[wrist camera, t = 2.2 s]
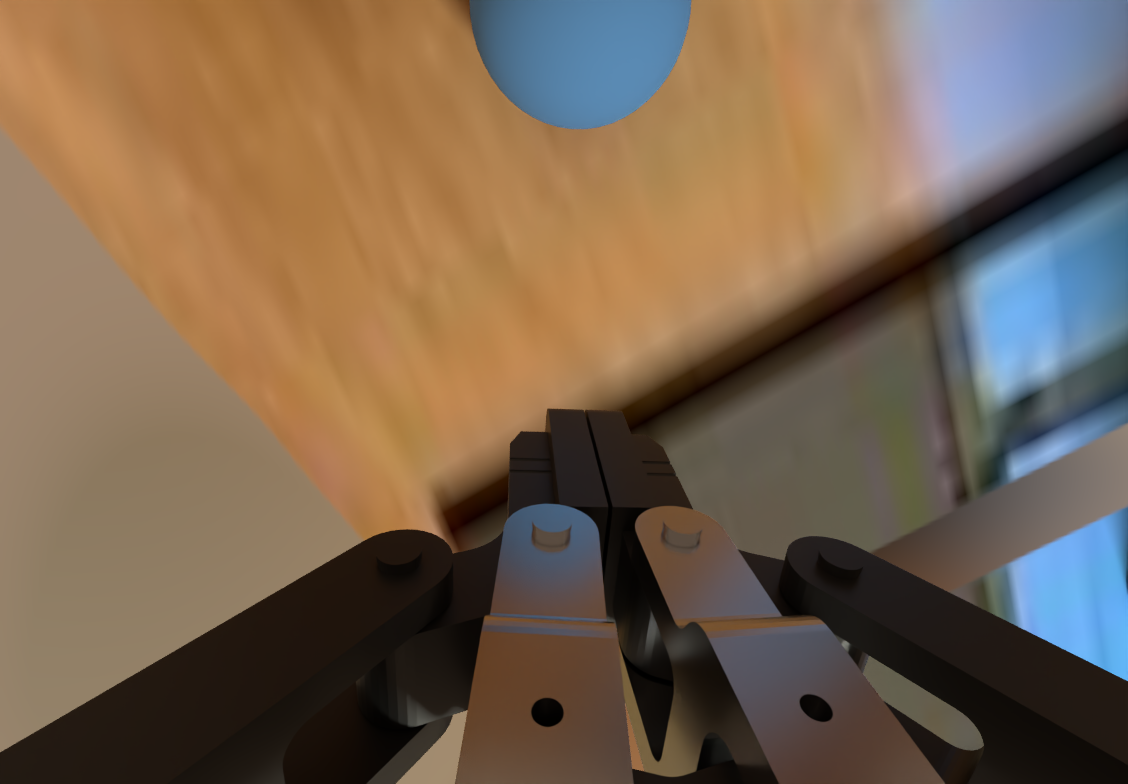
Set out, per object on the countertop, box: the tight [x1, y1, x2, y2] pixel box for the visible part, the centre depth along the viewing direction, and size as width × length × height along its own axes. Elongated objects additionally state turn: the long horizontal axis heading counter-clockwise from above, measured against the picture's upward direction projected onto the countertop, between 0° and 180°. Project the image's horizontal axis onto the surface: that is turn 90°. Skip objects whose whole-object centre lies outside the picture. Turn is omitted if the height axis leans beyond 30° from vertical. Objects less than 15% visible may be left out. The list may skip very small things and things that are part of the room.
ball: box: [470, 0, 691, 129], centre depth 16 cm, size 6×6×6 cm
